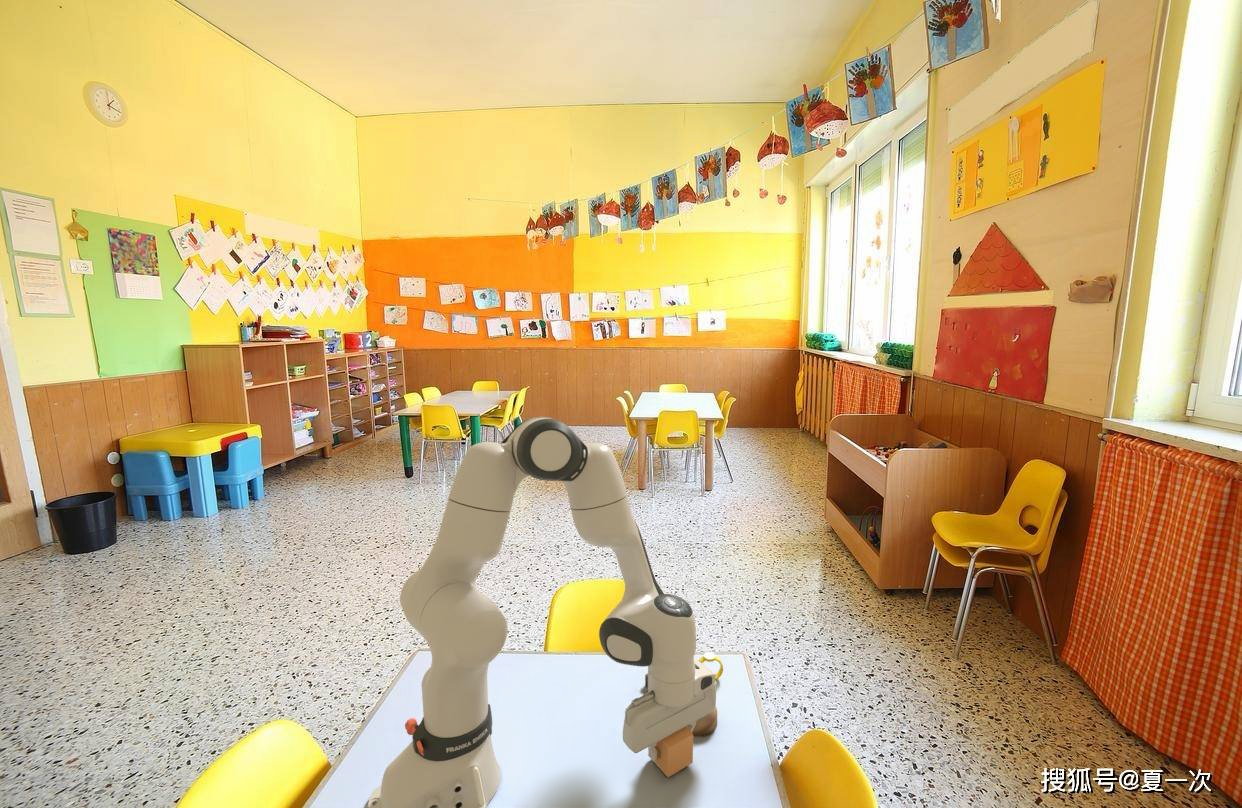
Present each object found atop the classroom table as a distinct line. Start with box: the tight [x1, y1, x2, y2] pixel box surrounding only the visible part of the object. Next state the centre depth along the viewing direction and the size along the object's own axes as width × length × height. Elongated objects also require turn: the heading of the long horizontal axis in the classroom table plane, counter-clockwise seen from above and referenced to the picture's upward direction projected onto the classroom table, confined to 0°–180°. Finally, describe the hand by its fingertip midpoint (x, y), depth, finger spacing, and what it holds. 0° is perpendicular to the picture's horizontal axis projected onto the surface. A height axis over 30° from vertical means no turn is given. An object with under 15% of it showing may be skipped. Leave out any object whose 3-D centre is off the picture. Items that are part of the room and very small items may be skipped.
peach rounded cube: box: [647, 727, 694, 778], centre depth 99 cm, size 6×6×6 cm
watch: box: [698, 651, 724, 681], centre depth 123 cm, size 6×3×6 cm, turn 92°
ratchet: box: [644, 673, 718, 738], centre depth 114 cm, size 9×20×6 cm, turn 35°
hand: (670, 748), depth 99 cm, fingers closed on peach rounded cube, 6 cm apart
